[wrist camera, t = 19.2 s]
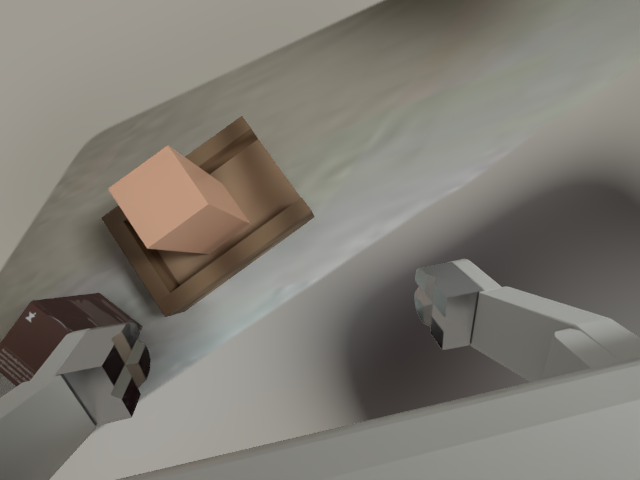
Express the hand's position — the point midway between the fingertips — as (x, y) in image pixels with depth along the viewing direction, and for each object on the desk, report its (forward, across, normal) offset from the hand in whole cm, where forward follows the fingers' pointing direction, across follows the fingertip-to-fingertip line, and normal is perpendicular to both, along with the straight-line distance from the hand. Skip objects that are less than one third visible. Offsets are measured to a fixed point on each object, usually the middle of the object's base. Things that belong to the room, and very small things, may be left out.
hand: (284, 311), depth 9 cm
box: (+20, +19, +15) cm, 32 cm away
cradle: (+24, +6, +6) cm, 25 cm away
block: (+23, +6, +5) cm, 24 cm away
